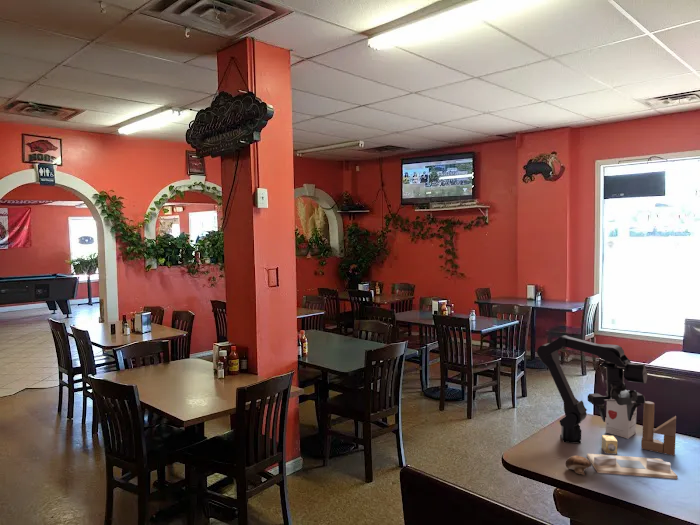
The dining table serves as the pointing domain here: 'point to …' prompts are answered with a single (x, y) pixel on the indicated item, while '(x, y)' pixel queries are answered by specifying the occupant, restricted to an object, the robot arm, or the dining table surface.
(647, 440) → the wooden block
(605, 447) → the block
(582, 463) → the mushroom
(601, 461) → the tan board grey square
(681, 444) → the dining table surface
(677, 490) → the dining table surface
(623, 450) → the dining table surface
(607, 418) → the supplement box
